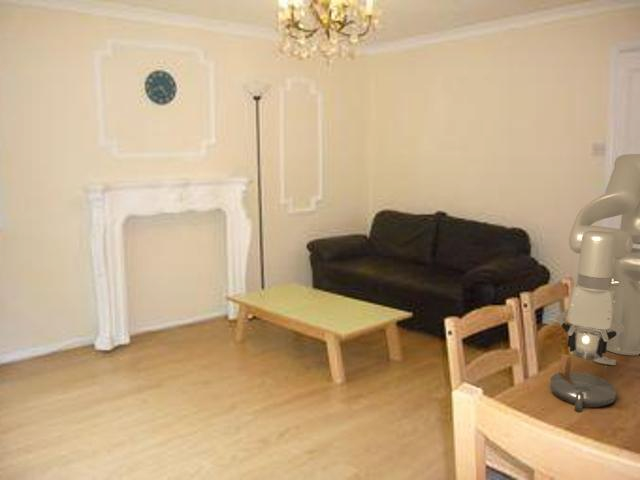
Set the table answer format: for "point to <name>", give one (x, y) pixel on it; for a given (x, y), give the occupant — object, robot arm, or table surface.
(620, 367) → the table surface
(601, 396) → the turntable
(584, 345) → the cover
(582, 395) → the dial pointer
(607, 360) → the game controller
